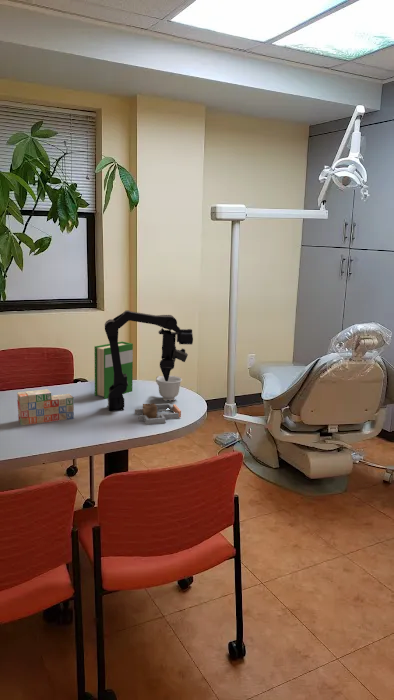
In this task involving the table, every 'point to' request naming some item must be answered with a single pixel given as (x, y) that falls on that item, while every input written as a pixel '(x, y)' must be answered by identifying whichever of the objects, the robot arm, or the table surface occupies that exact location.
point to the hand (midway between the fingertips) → (167, 378)
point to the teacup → (168, 387)
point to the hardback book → (105, 367)
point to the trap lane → (162, 416)
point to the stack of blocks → (43, 407)
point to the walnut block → (150, 410)
